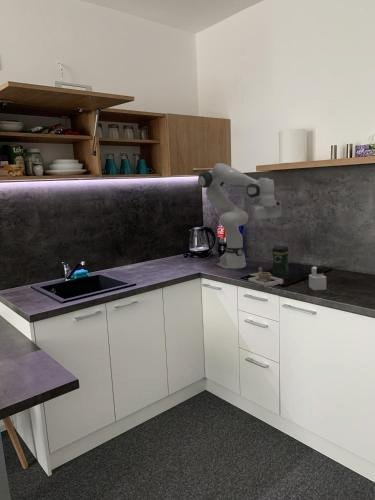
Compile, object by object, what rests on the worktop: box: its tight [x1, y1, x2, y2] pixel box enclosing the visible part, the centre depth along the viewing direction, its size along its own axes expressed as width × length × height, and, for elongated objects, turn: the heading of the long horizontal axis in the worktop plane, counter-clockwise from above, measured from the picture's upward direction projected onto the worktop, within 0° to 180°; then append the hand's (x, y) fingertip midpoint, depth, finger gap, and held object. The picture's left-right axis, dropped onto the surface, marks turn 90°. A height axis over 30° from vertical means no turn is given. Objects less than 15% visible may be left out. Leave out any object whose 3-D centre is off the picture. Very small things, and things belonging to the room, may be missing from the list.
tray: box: [247, 275, 284, 288], centre depth 225 cm, size 15×14×2 cm
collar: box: [258, 271, 271, 283], centre depth 225 cm, size 7×8×5 cm
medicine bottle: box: [308, 265, 327, 291], centre depth 209 cm, size 7×7×12 cm
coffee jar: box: [271, 245, 290, 276], centre depth 241 cm, size 10×8×19 cm
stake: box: [249, 266, 272, 277], centre depth 241 cm, size 10×10×6 cm
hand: (267, 225), depth 240 cm, fingers open, 8 cm apart
